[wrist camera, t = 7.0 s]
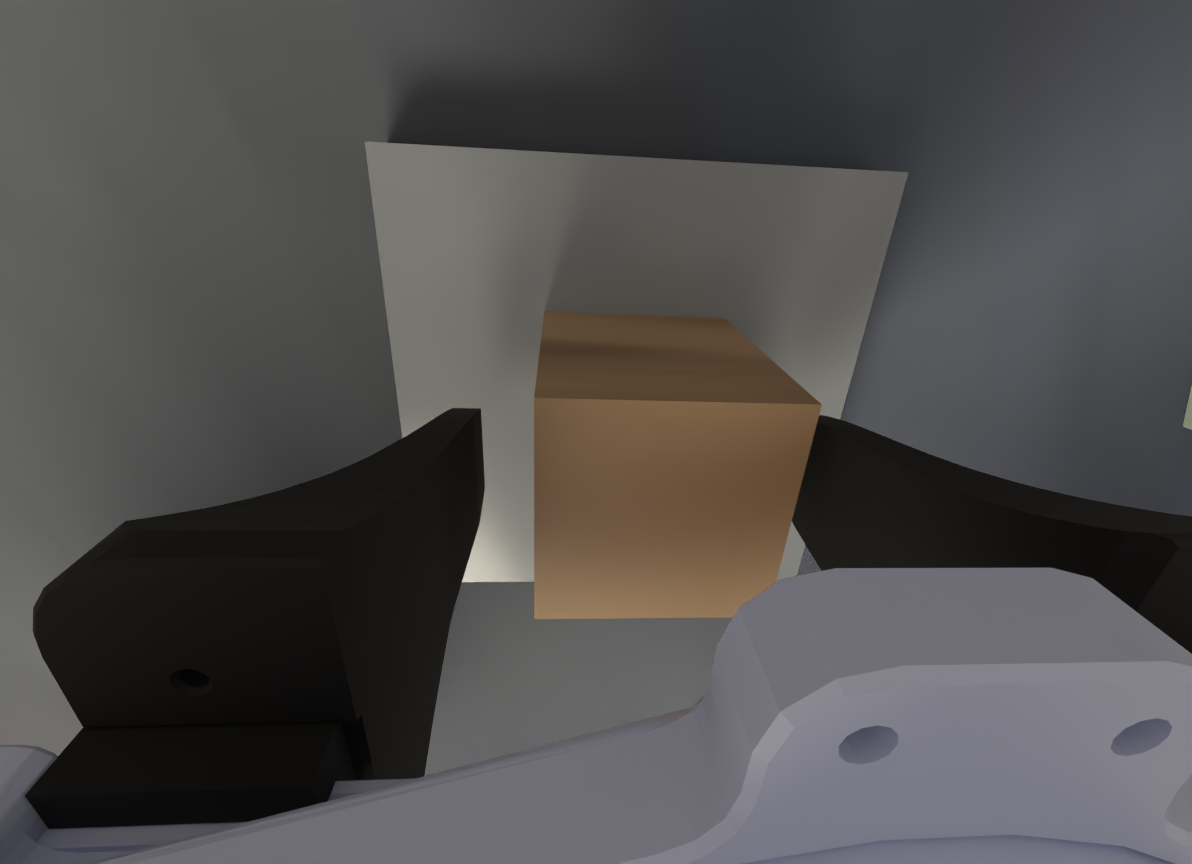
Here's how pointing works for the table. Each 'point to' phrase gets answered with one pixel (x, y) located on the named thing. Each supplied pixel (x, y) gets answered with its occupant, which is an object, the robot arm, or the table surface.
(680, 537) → the walnut block
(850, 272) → the grey square tile
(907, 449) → the robot arm
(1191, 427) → the pale green block
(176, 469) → the table surface
